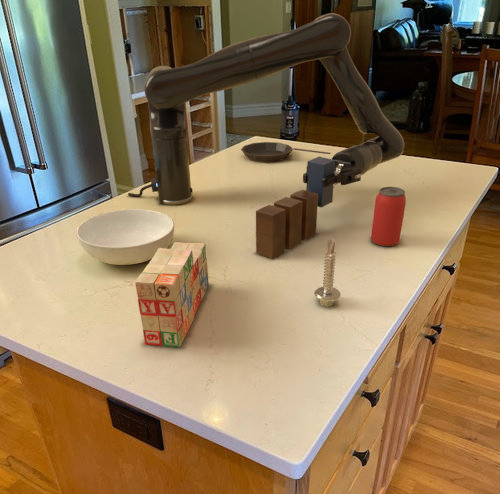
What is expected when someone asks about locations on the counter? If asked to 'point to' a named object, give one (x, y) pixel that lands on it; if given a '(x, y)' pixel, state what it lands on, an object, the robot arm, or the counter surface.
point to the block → (320, 179)
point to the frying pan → (270, 151)
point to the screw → (328, 278)
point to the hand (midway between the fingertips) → (314, 180)
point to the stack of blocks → (172, 292)
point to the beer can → (388, 216)
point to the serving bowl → (126, 235)
